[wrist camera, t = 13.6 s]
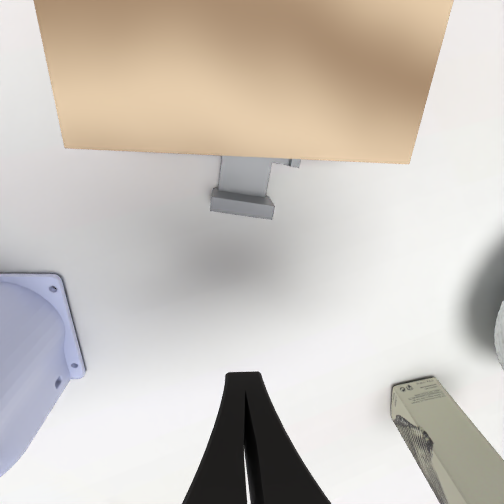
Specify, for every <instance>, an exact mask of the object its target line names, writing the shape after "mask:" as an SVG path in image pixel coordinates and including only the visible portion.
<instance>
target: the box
mask: <svg viewBox="0 0 504 504" xmlns="http://www.w3.org/2000/svg"><path fill="white" fill-rule="evenodd" d="M391 418H392V420H393V422H394V423H395V425H396V427H397V428H398V430H399V432H400V434H401V436H402V437H403V439H404V441H405V443H406V444H407V446H408V448H409V450H410V451H411V453H412V455H413V457H414V458H415V460H416V462H417V464H418V466H419V467H420V469H421V471H422V472H423V474H424V476H425V478H426V480H427V481H428V483H429V485H430V487H431V488H432V490H433V492H434V493H435V495H436V497H437V499H438V501H439V502H440V504H504V460H503V459H502V458H501V456H500V455H499V454H498V453H497V452H496V450H495V449H494V448H493V447H492V446H491V444H490V443H489V442H488V441H487V440H486V438H485V437H484V436H483V435H482V434H481V432H480V431H479V430H478V429H477V428H476V426H475V425H474V424H473V423H472V421H471V420H470V419H469V418H468V417H467V415H466V414H465V413H464V412H463V411H462V409H461V408H460V407H459V406H458V404H457V403H456V402H455V401H454V400H453V398H452V397H451V396H450V395H449V393H448V392H447V391H446V390H445V389H444V387H443V386H442V385H441V384H440V383H439V381H438V380H437V379H436V378H435V377H433V378H429V379H423V380H418V381H414V382H410V383H405V384H400V385H396V386H394V387H393V391H392V403H391Z"/></svg>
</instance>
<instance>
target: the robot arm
mask: <svg viewBox="0 0 504 504" xmlns="http://www.w3.org/2000/svg"><path fill="white" fill-rule="evenodd" d="M52 286H54V287H56V288H57V289H54V288H53V287H52ZM75 363H76V364H75ZM85 372H86V371H85V367H84V363H83V360H82V356H81V352H80V348H79V344H78V341H77V337H76V333H75V329H74V325H73V321H72V318H71V314H70V310H69V306H68V302H67V299H66V295H65V291H64V287H63V283H62V280H61V278H60V277H59V276H58V275H55V274H0V477H1V476H2V475H3V474H5V473H6V472H7V471H8V470H9V469H10V468H11V467H12V466H13V465H14V464H15V463H16V462H17V461H18V460H19V459H20V457H21V456H22V455H23V454H24V452H25V451H26V449H27V448H28V446H29V445H30V443H31V442H32V440H33V438H34V437H35V435H36V434H37V432H38V430H39V429H40V427H41V426H42V424H43V422H44V421H45V419H46V418H47V416H48V414H49V413H50V411H51V409H52V408H53V406H54V405H55V403H56V401H57V400H58V398H59V397H60V395H61V393H62V392H63V390H64V389H65V387H66V385H67V384H68V382H69V381H70V379H80V378H82V377H83V376H84V375H85ZM244 451H245V459H246V467H247V475H248V484H249V492H250V500H251V504H331V502H330V501H329V500H328V498H327V497H326V496H325V494H324V493H323V491H322V490H321V488H320V487H319V485H318V484H317V482H316V481H315V480H314V478H313V477H312V475H311V473H310V472H309V470H308V469H307V467H306V466H305V464H304V462H303V461H302V459H301V457H300V456H299V454H298V452H297V451H296V449H295V447H294V445H293V444H292V442H291V440H290V438H289V436H288V435H287V433H286V431H285V429H284V427H283V425H282V423H281V421H280V419H279V417H278V415H277V413H276V411H275V409H274V407H273V404H272V402H271V400H270V397H269V395H268V393H267V390H266V387H265V385H264V382H263V379H262V375H261V373H260V372H228V373H227V374H226V376H225V386H224V391H223V396H222V400H221V404H220V408H219V411H218V415H217V418H216V421H215V425H214V428H213V431H212V433H211V436H210V439H209V442H208V444H207V447H206V450H205V453H204V455H203V458H202V460H201V463H200V465H199V467H198V470H197V472H196V474H195V477H194V479H193V481H192V484H191V486H190V488H189V490H188V492H187V494H186V496H185V499H184V501H183V503H182V504H247V495H246V481H245V466H244Z"/></svg>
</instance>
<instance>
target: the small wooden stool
mask: <svg viewBox="0 0 504 504" xmlns="http://www.w3.org/2000/svg"><path fill="white" fill-rule="evenodd" d="M453 1H454V0H34V4H35V9H36V14H37V19H38V23H39V28H40V33H41V38H42V42H43V47H44V52H45V57H46V61H47V66H48V71H49V76H50V80H51V85H52V90H53V95H54V99H55V104H56V109H57V114H58V119H59V123H60V128H61V133H62V138H63V142H64V147H65V148H71V149H93V150H114V151H135V152H157V153H178V154H200V155H221V156H242V157H264V158H285V159H307V160H328V161H349V162H371V163H392V164H409V163H410V159H411V156H412V152H413V148H414V145H415V141H416V137H417V134H418V130H419V126H420V123H421V119H422V115H423V111H424V108H425V104H426V100H427V97H428V93H429V89H430V86H431V82H432V78H433V75H434V71H435V67H436V64H437V60H438V56H439V53H440V49H441V45H442V41H443V38H444V34H445V30H446V27H447V23H448V19H449V16H450V12H451V8H452V5H453Z"/></svg>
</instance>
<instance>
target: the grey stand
mask: <svg viewBox="0 0 504 504" xmlns="http://www.w3.org/2000/svg"><path fill="white" fill-rule="evenodd" d="M300 161H301V159H285V158H264V157H242V156H222V162H221V170H220V178H219V186H218V188H213V192H212V197H211V205H210V211H215V212H222V213H229V214H235V215H242V216H249V217H256V218H263V219H270V220H272V217H273V212H274V207H275V206H274V205H273V203H272V201H271V200H270V198H269V197H268V196H266V191H267V185H268V180H269V175H270V170H271V165H272V162H273V163H279V164H284V165H289V166H291V167H297V168H299V165H300Z"/></svg>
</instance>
